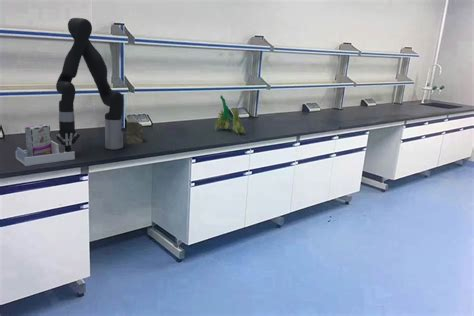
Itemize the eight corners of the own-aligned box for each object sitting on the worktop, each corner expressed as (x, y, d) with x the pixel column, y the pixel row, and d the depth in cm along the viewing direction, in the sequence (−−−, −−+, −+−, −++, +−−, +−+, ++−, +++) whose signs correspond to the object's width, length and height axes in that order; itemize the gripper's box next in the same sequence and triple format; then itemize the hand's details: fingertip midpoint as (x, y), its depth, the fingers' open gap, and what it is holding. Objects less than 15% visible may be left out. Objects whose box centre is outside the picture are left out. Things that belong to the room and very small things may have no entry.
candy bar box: (45, 154, 211) (43, 123, 206) (52, 156, 209) (50, 125, 204) (26, 159, 201) (24, 127, 197) (33, 161, 199) (31, 128, 195)
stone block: (134, 138, 264) (134, 115, 260) (143, 143, 252) (144, 120, 248) (119, 139, 258) (119, 116, 254) (127, 144, 246) (127, 120, 242)
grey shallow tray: (63, 152, 220) (63, 142, 219) (74, 159, 210) (74, 148, 209) (16, 158, 204) (15, 147, 202) (25, 166, 194) (24, 154, 192)
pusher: (58, 151, 216) (57, 138, 215) (67, 157, 208) (66, 143, 207) (48, 152, 213) (47, 139, 211) (57, 158, 205) (56, 144, 203)
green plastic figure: (248, 132, 300) (247, 92, 290) (234, 138, 288) (232, 97, 277) (222, 127, 315) (220, 89, 305) (207, 133, 303) (204, 93, 293)
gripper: (56, 122, 202) (58, 155, 207) (82, 120, 211) (83, 152, 216) (50, 119, 208) (52, 151, 212) (76, 117, 217) (77, 148, 221)
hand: (68, 151), depth 214 cm, fingers closed
